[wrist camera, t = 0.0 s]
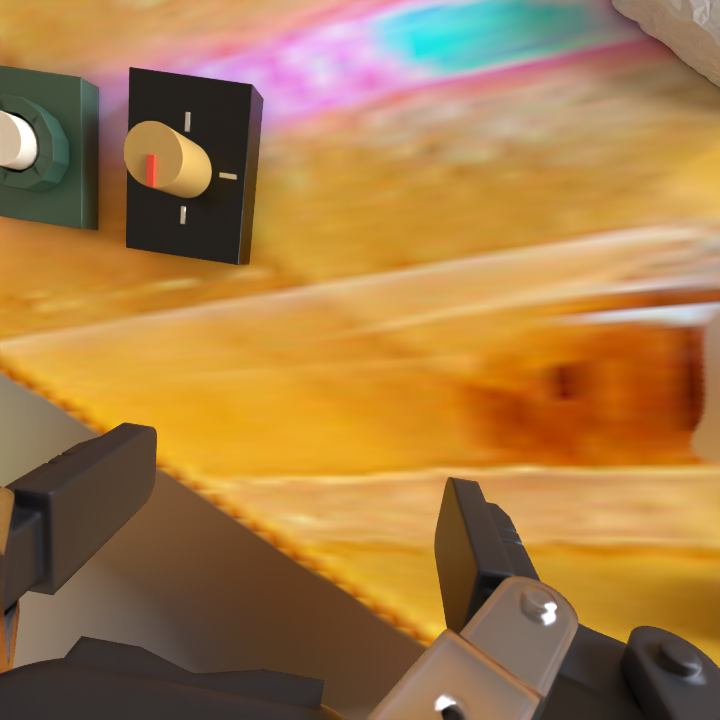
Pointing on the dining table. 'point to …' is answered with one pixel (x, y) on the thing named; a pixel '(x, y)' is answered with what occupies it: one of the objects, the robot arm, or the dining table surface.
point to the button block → (53, 149)
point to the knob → (166, 160)
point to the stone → (681, 29)
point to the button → (17, 142)
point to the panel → (227, 158)
